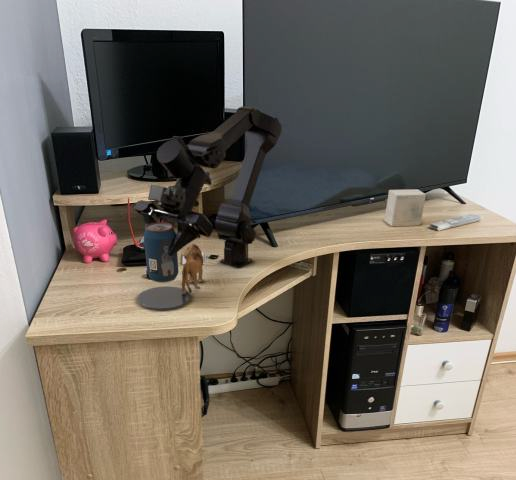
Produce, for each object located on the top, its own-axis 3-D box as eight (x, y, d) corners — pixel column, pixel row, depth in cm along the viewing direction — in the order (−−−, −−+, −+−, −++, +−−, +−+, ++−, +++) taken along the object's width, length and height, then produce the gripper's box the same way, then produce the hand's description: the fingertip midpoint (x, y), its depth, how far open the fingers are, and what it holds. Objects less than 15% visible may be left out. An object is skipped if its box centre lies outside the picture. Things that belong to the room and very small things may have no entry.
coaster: (164, 284, 132) (164, 282, 132) (201, 297, 126) (200, 295, 126) (126, 300, 124) (126, 298, 124) (163, 315, 118) (163, 313, 117)
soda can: (160, 269, 126) (155, 219, 120) (184, 275, 124) (181, 224, 118) (141, 280, 121) (136, 228, 115) (167, 286, 118) (163, 233, 112)
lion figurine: (183, 277, 137) (181, 242, 134) (204, 276, 138) (203, 241, 134) (180, 295, 124) (178, 257, 120) (203, 295, 124) (202, 257, 121)
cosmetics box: (391, 226, 176) (396, 194, 171) (383, 221, 182) (388, 189, 177) (421, 225, 178) (426, 193, 173) (412, 219, 184) (417, 188, 179)
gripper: (135, 163, 118) (103, 225, 115) (202, 175, 109) (170, 242, 107) (162, 191, 128) (133, 249, 125) (226, 204, 119) (197, 267, 117)
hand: (156, 251), depth 118 cm, fingers closed on soda can, 7 cm apart
